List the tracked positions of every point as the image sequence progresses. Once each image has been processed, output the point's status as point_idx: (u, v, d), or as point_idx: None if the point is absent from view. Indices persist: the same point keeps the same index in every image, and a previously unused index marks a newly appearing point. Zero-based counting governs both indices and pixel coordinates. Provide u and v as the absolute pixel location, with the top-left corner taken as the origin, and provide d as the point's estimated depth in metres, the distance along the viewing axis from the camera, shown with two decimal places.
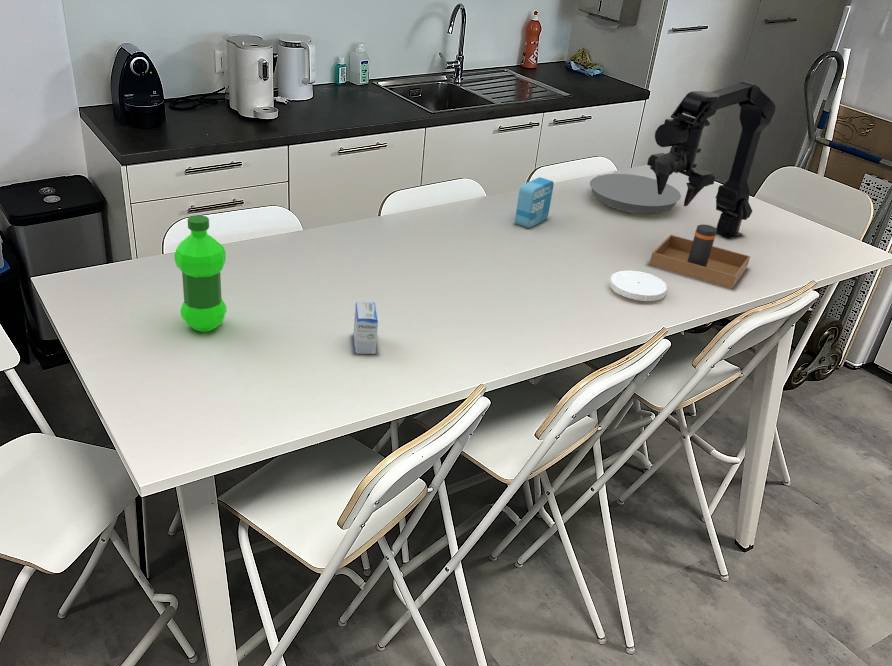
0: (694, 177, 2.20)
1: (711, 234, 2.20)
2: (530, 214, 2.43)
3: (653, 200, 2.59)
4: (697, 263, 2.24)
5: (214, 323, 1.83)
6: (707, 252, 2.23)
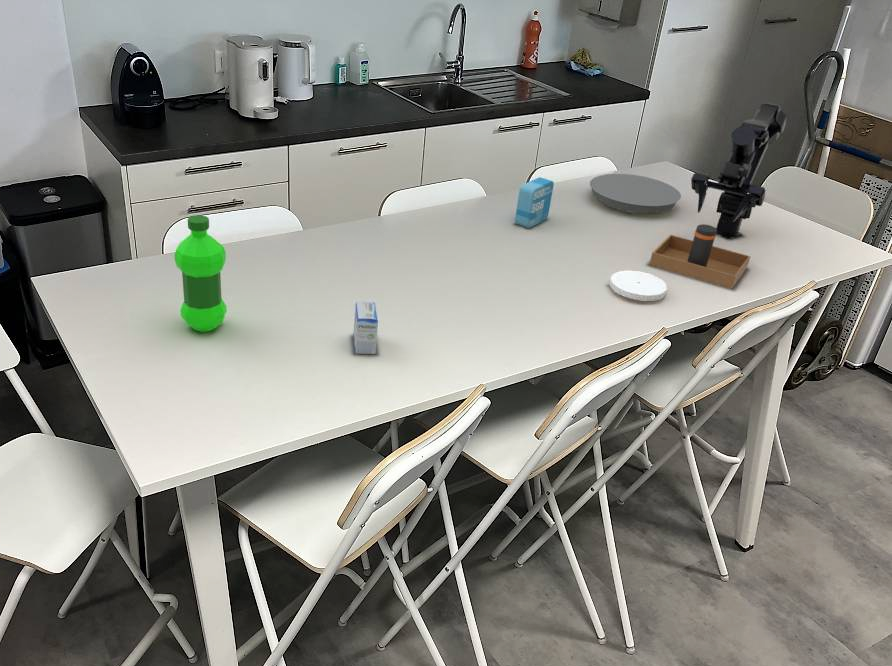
0: (756, 187, 2.22)
1: (711, 234, 2.20)
2: (530, 214, 2.43)
3: (653, 200, 2.59)
4: (697, 263, 2.24)
5: (214, 323, 1.83)
6: (707, 252, 2.23)
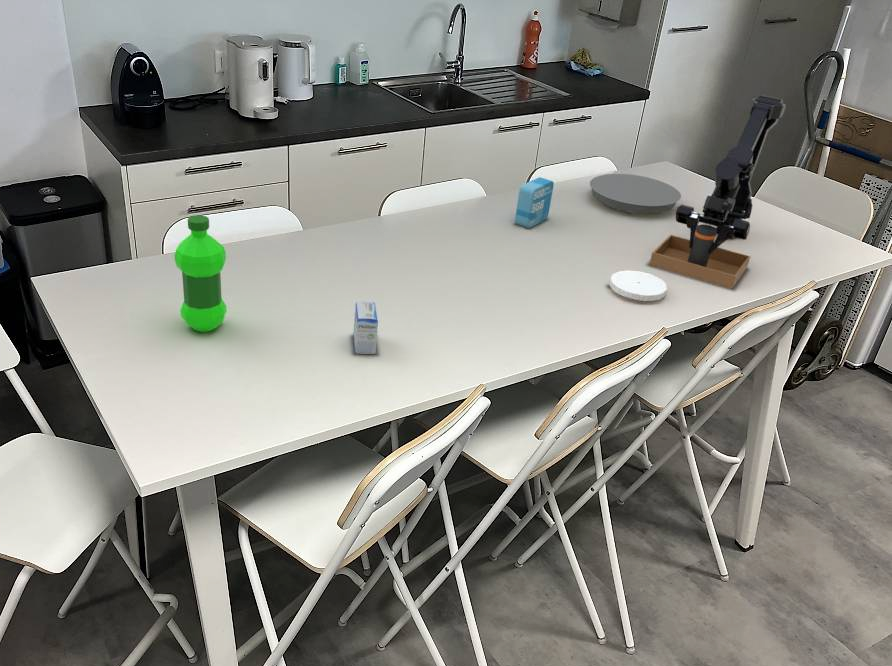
0: (740, 222, 2.19)
1: (711, 234, 2.20)
2: (530, 214, 2.43)
3: (653, 200, 2.59)
4: (697, 263, 2.24)
5: (214, 323, 1.83)
6: (708, 252, 2.23)
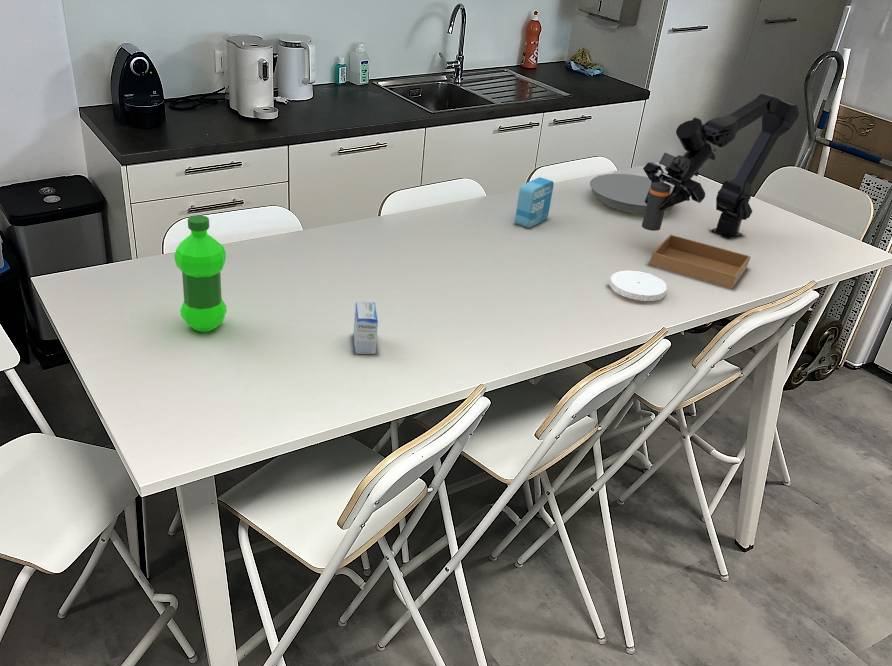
0: (691, 182, 2.22)
1: (660, 190, 2.25)
2: (530, 214, 2.43)
3: None
4: (648, 219, 2.30)
5: (214, 323, 1.83)
6: (658, 209, 2.28)
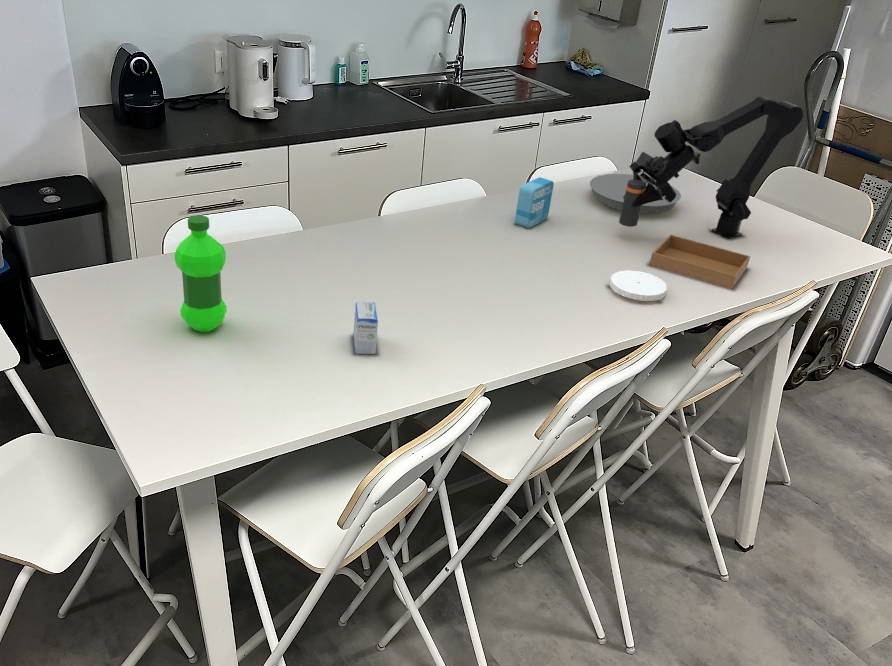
0: (661, 181, 2.29)
1: (633, 187, 2.35)
2: (530, 214, 2.43)
3: None
4: (623, 214, 2.40)
5: (214, 323, 1.83)
6: (631, 206, 2.37)
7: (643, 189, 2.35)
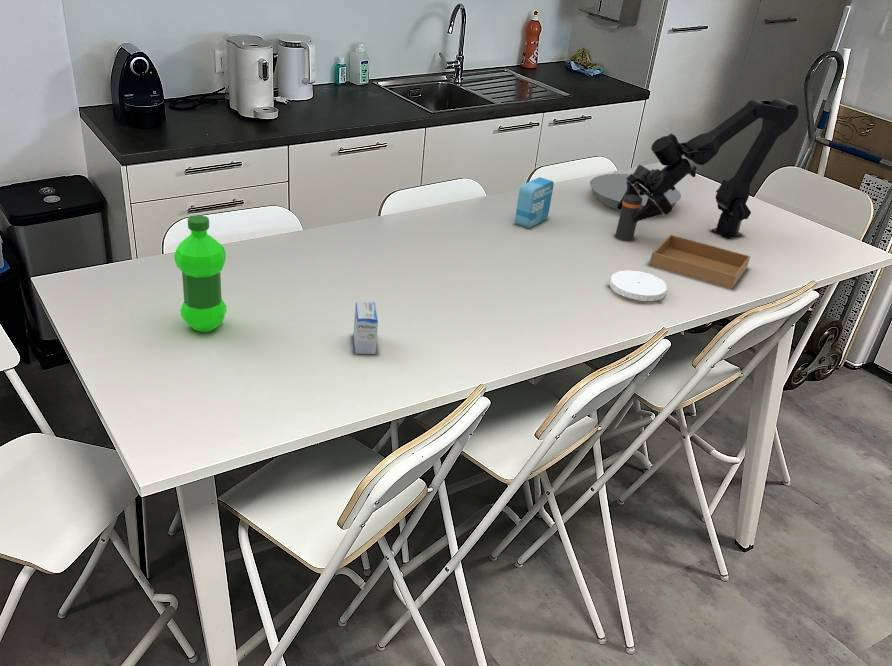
0: (657, 194, 2.31)
1: (630, 202, 2.37)
2: (530, 214, 2.43)
3: None
4: (619, 228, 2.42)
5: (214, 323, 1.83)
6: (628, 220, 2.40)
7: (639, 204, 2.37)
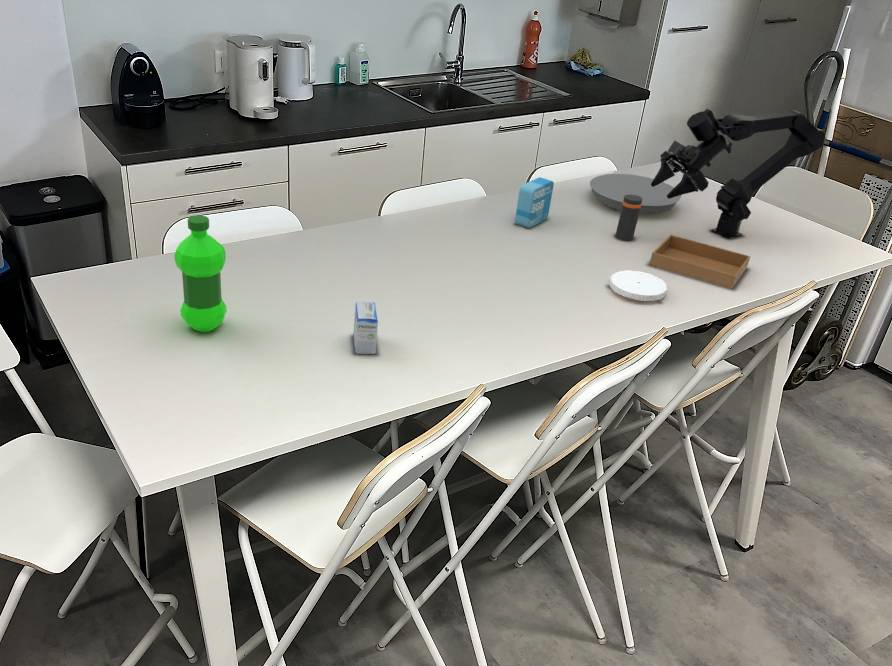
0: (693, 170, 2.30)
1: (630, 202, 2.37)
2: (530, 214, 2.43)
3: (653, 200, 2.59)
4: (619, 228, 2.42)
5: (214, 323, 1.83)
6: (628, 220, 2.40)
7: (639, 204, 2.37)
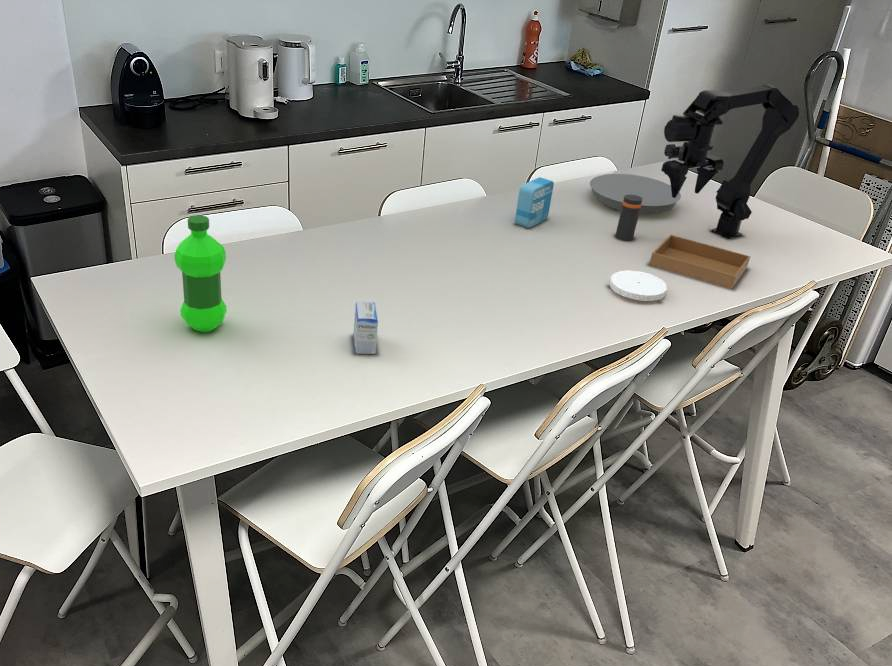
0: None
1: (630, 202, 2.37)
2: (530, 214, 2.43)
3: (653, 200, 2.59)
4: (619, 228, 2.42)
5: (214, 323, 1.83)
6: (628, 220, 2.40)
7: (639, 204, 2.37)
